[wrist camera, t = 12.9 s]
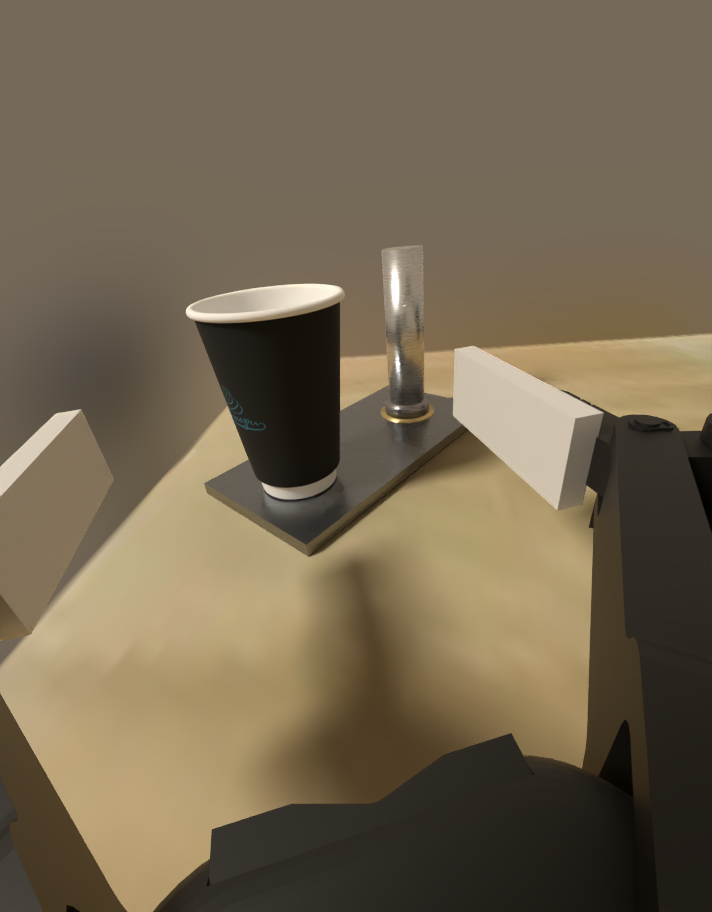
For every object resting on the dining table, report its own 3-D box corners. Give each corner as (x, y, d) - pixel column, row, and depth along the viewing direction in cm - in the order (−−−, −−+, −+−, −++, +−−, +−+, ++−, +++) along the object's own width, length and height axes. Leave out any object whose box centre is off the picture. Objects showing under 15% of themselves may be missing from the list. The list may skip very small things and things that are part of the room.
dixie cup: (212, 508, 24) (148, 316, 19) (272, 443, 31) (238, 286, 25) (338, 524, 22) (309, 312, 16) (374, 450, 28) (362, 280, 23)
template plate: (389, 393, 40) (388, 384, 39) (485, 414, 34) (486, 404, 33) (207, 493, 27) (203, 481, 27) (308, 556, 21) (305, 543, 21)
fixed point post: (402, 398, 36) (396, 246, 30) (437, 406, 34) (439, 244, 28) (376, 413, 34) (364, 252, 28) (412, 423, 32) (408, 250, 26)
